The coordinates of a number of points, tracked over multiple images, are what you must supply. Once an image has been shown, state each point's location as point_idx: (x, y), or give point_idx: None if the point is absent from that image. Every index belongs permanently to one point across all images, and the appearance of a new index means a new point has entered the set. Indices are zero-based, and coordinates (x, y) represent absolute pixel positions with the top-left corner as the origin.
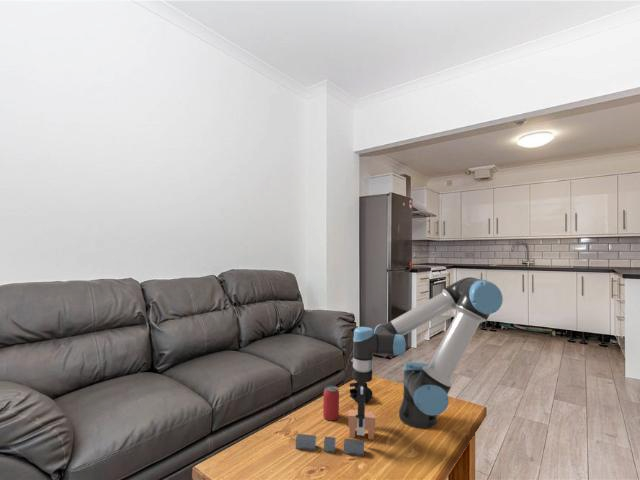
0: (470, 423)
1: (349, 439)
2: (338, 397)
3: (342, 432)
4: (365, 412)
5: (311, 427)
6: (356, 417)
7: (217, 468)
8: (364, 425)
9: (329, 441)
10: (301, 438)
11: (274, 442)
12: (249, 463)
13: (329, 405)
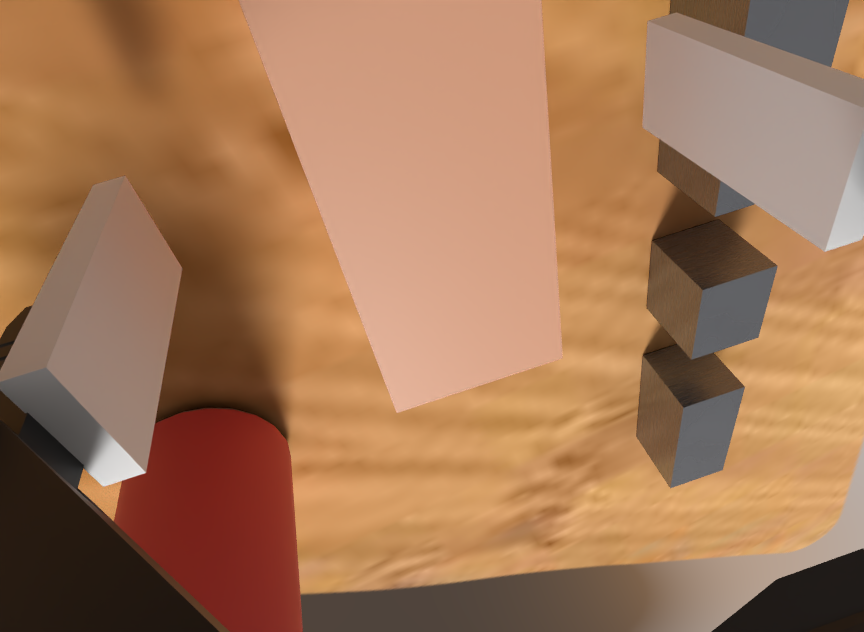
0: None
1: None
2: None
3: None
4: (367, 174)
5: (439, 467)
6: (549, 253)
7: (811, 525)
8: (784, 51)
9: (758, 306)
10: (720, 451)
11: (640, 505)
12: (793, 483)
13: (295, 566)
